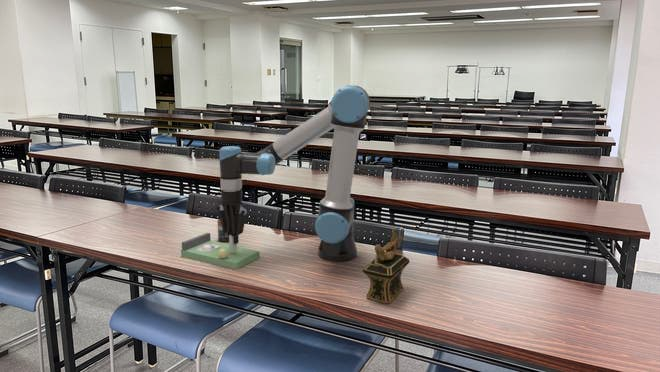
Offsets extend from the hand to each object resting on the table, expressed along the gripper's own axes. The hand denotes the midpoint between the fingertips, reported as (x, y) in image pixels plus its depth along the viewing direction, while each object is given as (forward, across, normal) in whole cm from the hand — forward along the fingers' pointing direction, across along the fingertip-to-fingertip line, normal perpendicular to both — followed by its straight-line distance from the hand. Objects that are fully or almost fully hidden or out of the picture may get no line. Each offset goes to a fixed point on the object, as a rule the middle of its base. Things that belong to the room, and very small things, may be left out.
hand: (233, 251), depth 173 cm
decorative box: (+4, -60, -3) cm, 60 cm away
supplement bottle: (+3, +17, -16) cm, 24 cm away
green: (+3, +6, 0) cm, 7 cm away
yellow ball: (-1, 0, +6) cm, 6 cm away
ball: (+1, +13, 0) cm, 13 cm away
